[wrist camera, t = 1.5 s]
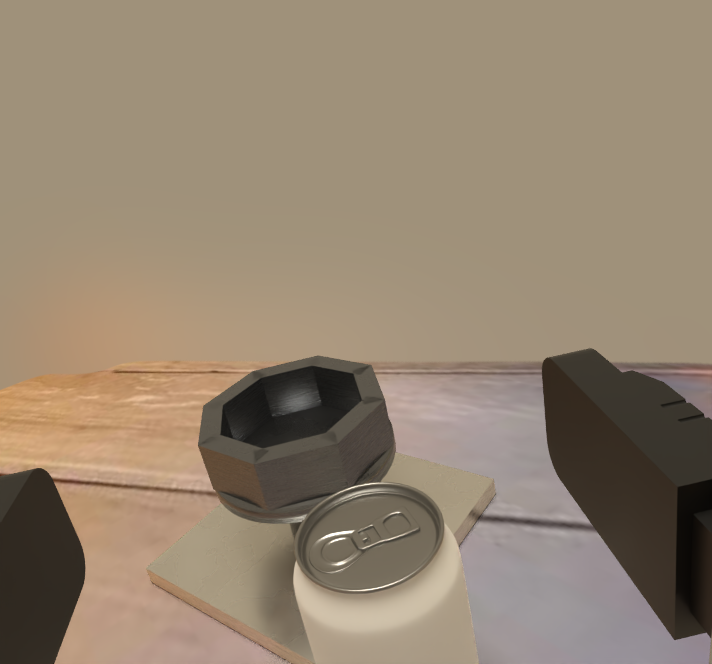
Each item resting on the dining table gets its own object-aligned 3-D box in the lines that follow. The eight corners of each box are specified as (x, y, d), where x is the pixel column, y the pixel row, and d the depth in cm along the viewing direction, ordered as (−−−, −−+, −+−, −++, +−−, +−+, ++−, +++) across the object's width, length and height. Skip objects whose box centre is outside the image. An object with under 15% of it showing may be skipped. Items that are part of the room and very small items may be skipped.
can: (326, 708, 31) (263, 513, 26) (445, 648, 32) (408, 455, 27) (379, 848, 25) (312, 633, 20) (520, 767, 27) (491, 550, 22)
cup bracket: (311, 440, 51) (281, 327, 47) (495, 493, 42) (478, 356, 37) (151, 582, 40) (94, 450, 36) (352, 698, 31) (305, 536, 26)
